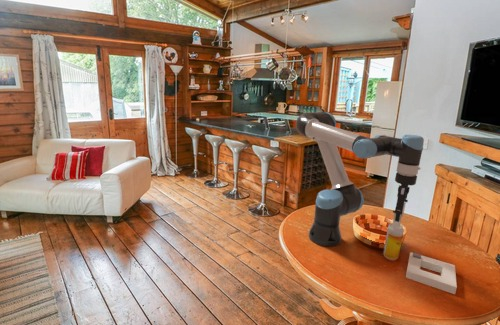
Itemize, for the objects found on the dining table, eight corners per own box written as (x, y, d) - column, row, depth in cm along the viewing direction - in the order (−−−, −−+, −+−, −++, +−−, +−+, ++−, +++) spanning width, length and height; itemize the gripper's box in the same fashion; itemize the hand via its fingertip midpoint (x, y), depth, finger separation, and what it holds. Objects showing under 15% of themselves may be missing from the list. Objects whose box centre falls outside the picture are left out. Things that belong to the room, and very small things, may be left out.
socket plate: (405, 277, 112) (407, 269, 111) (409, 258, 125) (410, 250, 124) (454, 294, 104) (457, 285, 103) (453, 271, 117) (455, 263, 116)
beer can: (399, 262, 122) (406, 230, 118) (384, 259, 123) (390, 228, 119) (395, 254, 128) (401, 223, 124) (381, 252, 129) (386, 221, 125)
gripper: (415, 183, 103) (404, 236, 109) (419, 168, 123) (410, 213, 129) (392, 179, 107) (383, 230, 112) (399, 165, 127) (391, 209, 133)
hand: (397, 221), depth 121 cm, fingers open, 13 cm apart
